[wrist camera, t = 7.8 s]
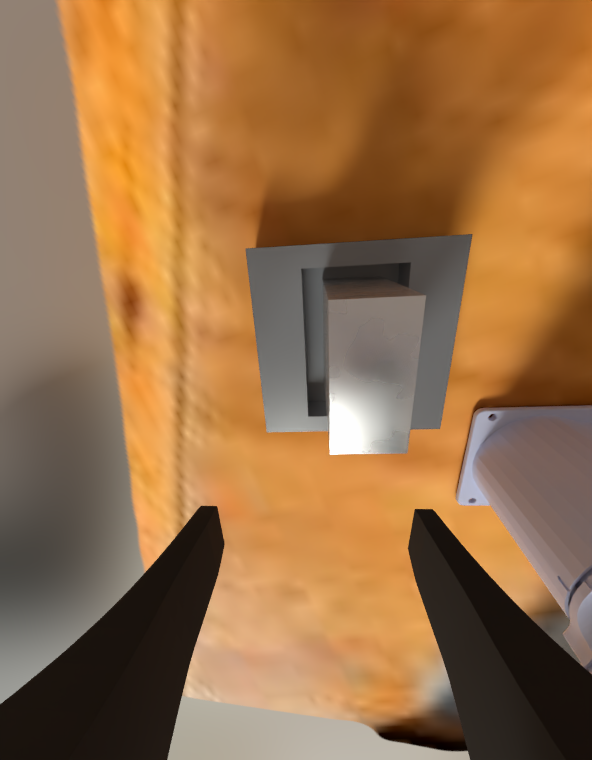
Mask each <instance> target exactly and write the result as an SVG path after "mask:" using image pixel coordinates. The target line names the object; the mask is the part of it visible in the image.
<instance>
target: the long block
mask: <svg viewBox="0 0 592 760" xmlns="http://www.w3.org/2000/svg"><path fill="white" fill-rule="evenodd" d="M425 301H426V295H424V294H422V293H419V292H417V291H415V290H412V289H410V288H407V287H405V286H403V285H400V284H398V283H395V282H393V281H391V280H388V279H386V278H383V277H381V276H367V277H348V278H330V279H322V304H323V357H324V388H325V400H326V412H327V424H328V435H329V447H330V454H395V453H407V452H408V443H409V435H410V426H411V418H412V410H413V401H414V393H415V385H416V376H417V368H418V360H419V351H420V343H421V335H422V326H423V318H424V310H425Z"/></svg>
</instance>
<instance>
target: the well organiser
mask: <svg viewBox="0 0 592 760" xmlns="http://www.w3.org/2000/svg"><path fill="white" fill-rule="evenodd" d="M471 239H472V234H468V235H452V236H437V237H421V238H405V239H390V240H374V241H358V242H342V243H327V244H311V245H295V246H280V247H264V248H248V249H246V256H247V265H248V273H249V282H250V291H251V299H252V308H253V317H254V325H255V334H256V343H257V351H258V360H259V369H260V377H261V386H262V394H263V403H264V412H265V420H266V429H267V432H303V431H328V424H327V412H326V400H325V388H324V357H323V304H322V279H330V278H348V277H367V276H381V277H383V278H386V279H388V280H391V281H393V282H395V283H398V284H400V285H403V286H405V287H407V288H410V289H412V290H415V291H417V292H419V293H422V294H424V295H426V301H425V310H424V318H423V326H422V335H421V343H420V351H419V360H418V368H417V376H416V385H415V393H414V401H413V410H412V418H411V426H410V429H440V426H441V420H442V414H443V408H444V402H445V396H446V390H447V384H448V378H449V372H450V366H451V360H452V354H453V348H454V342H455V336H456V330H457V324H458V318H459V312H460V306H461V300H462V294H463V288H464V281H465V275H466V269H467V263H468V257H469V251H470V245H471Z"/></svg>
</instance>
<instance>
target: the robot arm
mask: <svg viewBox="0 0 592 760" xmlns="http://www.w3.org/2000/svg"><path fill="white" fill-rule="evenodd" d="M491 414H493V416H492V417H490V418H488V417H489V416H490V415H491ZM471 498H472V499H471ZM456 500H457V502H458V503H459V504H460V505H491V507H492V508H493V510H494V511H495V513H496V514H497V516H498V517H499V518H500V520H501V521H502V523H503V524H504V526H505V527H506V529H507V530H508V531H509V533H510V534H511V536H512V537H513V539H514V540H515V542H516V543H517V544H518V546H519V547H520V549H521V550H522V552H523V553H524V555H525V556H526V557H527V559H528V560H529V562H530V563H531V565H532V566H533V568H534V569H535V571H536V572H537V573H538V575H539V576H540V578H541V579H542V581H543V582H544V584H545V585H546V586H547V588H548V589H549V591H550V592H551V594H552V595H553V597H554V598H555V599H556V601H557V602H558V604H559V605H560V607H561V608H562V610H563V611H564V612H565V614H566V615H567V617H568V618H569V619H570V625H569V627H568V628H567V629H566V631H565V632H564V633H563V636H564V637H565V639H566V640H567V642H568V643H569V645H570V646H571V648H572V650H573V651H574V653H575V654H576V656H577V657H578V659H579V660H580V662H581V664H579V663H578V662H577V661H576V660H575V659H574V658H572V657H571V656H570V655H569V654H568V653H567V652H566V651H565V650H564V649H563V648H561V647H560V646H559V645H558V644H557V643H556V642H555V641H554V640H553V639H552V638H551V637H549V636H548V635H547V634H546V633H545V632H544V631H543V630H542V629H541V628H540V627H539V626H538V625H537V624H536V623H535V622H534V621H533V620H532V619H531V618H530V617H529V616H528V615H527V614H526V613H525V612H524V611H523V610H522V609H521V608H520V607H519V606H518V605H517V604H516V603H515V602H514V601H513V600H512V599H511V598H510V597H509V596H508V595H507V594H506V593H505V592H504V591H503V590H502V589H501V588H500V587H499V586H498V585H497V583H496V582H495V581H494V580H493V579H492V578H491V577H490V576H489V575H488V574H487V573H486V571H485V570H484V569H483V568H482V567H481V566H480V565H479V564H478V562H477V561H476V560H475V559H474V558H473V557H472V556H471V555H470V553H469V552H468V551H467V550H466V549H465V548H464V546H463V545H462V544H461V543H460V542H459V540H458V539H457V538H456V537H455V536H454V535H453V533H452V532H451V531H450V530H449V528H448V527H447V526H446V525H445V524H444V522H443V521H442V520H441V519H440V517H439V516H438V515H437V514H436V512H435V511H434V510H433V509H415V512H414V517H413V523H412V529H411V535H410V540H409V546H408V550H409V555H410V559H411V563H412V568H413V572H414V576H415V580H416V583H417V586H418V589H419V592H420V595H421V598H422V600H423V603H424V606H425V609H426V612H427V615H428V618H429V621H430V623H431V626H432V629H433V632H434V635H435V638H436V641H437V644H438V646H439V649H440V652H441V655H442V658H443V661H444V664H445V667H446V670H447V674H448V677H449V680H450V684H451V688H452V691H453V695H454V699H455V702H456V706H457V710H458V714H459V717H460V721H461V725H462V729H463V733H464V737H465V741H466V745H467V749H468V752H469V756H470V760H592V405H584V406H542V407H500V408H480V409H478V410H476V411H475V413H474V415H473V419H472V424H471V429H470V433H469V438H468V443H467V447H466V452H465V457H464V461H463V466H462V471H461V475H460V480H459V485H458V489H457V494H456ZM223 549H224V539H223V534H222V529H221V524H220V519H219V513H218V508H217V506H201V507H200V508H199V509H198V510H197V511H196V512H195V514H194V515H193V516H192V517H191V519H190V520H189V521H188V523H187V524H186V525H185V526H184V528H183V529H182V530H181V531H180V533H179V534H178V535H177V536H176V537H175V539H174V540H173V541H172V542H171V544H170V545H169V546H168V547H167V548H166V549H165V551H164V552H163V553H162V554H161V555H160V557H159V558H158V559H157V560H156V561H155V562H154V564H153V565H152V566H151V567H150V568H149V569H148V570H147V571H146V572H145V573H144V575H143V576H142V577H141V578H140V579H139V580H138V581H137V582H136V583H135V584H134V586H133V587H132V588H131V589H130V590H129V591H128V592H127V593H126V594H125V595H124V596H123V597H122V598H121V599H120V600H119V601H118V602H117V603H116V604H115V605H114V606H113V607H112V608H111V609H110V610H109V611H108V612H107V613H106V614H105V615H104V616H103V617H102V618H101V619H100V620H99V621H98V622H97V623H95V624H94V625H93V626H92V627H91V628H90V629H89V630H88V631H87V632H86V633H85V634H84V635H82V636H81V637H80V638H79V639H78V640H77V641H76V642H75V643H74V644H72V645H71V646H70V647H69V648H68V649H67V650H66V651H65V652H63V653H62V654H61V655H60V656H59V657H58V658H56V659H55V660H54V661H53V662H52V663H50V664H49V665H48V666H47V667H46V668H44V669H43V670H42V671H41V672H40V673H39V674H37V675H36V676H35V677H33V678H32V679H31V680H30V681H29V682H27V683H26V684H25V685H24V686H23V687H21V688H20V689H19V690H18V691H17V692H16V693H14V694H13V695H12V696H10V697H9V698H8V699H6V700H5V701H4V702H3V703H1V704H0V760H167V758H168V753H169V749H170V744H171V740H172V736H173V731H174V726H175V722H176V718H177V714H178V709H179V705H180V701H181V697H182V693H183V689H184V685H185V681H186V676H187V672H188V668H189V665H190V661H191V658H192V654H193V651H194V647H195V644H196V641H197V638H198V635H199V632H200V629H201V626H202V623H203V620H204V617H205V614H206V611H207V608H208V604H209V601H210V598H211V595H212V592H213V589H214V586H215V583H216V579H217V576H218V572H219V568H220V563H221V559H222V554H223Z"/></svg>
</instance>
